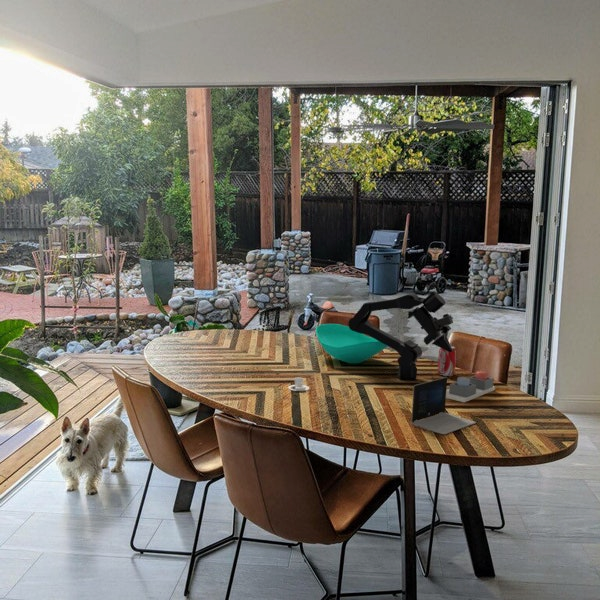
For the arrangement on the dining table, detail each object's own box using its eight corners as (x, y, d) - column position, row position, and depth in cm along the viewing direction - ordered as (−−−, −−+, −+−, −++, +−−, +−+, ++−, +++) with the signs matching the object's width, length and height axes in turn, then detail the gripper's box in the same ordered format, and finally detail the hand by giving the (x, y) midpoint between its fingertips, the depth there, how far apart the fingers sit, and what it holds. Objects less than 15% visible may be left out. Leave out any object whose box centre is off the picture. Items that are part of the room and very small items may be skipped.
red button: (472, 385, 246) (473, 372, 246) (477, 383, 249) (478, 370, 249) (483, 388, 243) (484, 374, 243) (488, 385, 247) (489, 372, 246)
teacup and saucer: (304, 393, 235) (304, 383, 235) (284, 391, 238) (284, 380, 237) (312, 387, 243) (312, 377, 243) (292, 385, 246) (292, 374, 245)
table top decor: (406, 367, 278) (408, 337, 276) (358, 376, 262) (360, 344, 260) (345, 348, 309) (347, 321, 307) (299, 355, 293) (300, 326, 291)
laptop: (443, 436, 196) (446, 394, 194) (410, 425, 205) (413, 385, 203) (476, 424, 208) (479, 385, 206) (443, 414, 217) (446, 376, 215)
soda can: (454, 377, 264) (457, 349, 262) (437, 376, 266) (439, 347, 264) (454, 373, 271) (456, 345, 269) (437, 372, 272) (439, 344, 271)
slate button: (454, 392, 236) (455, 378, 235) (460, 390, 239) (461, 376, 238) (465, 395, 233) (466, 381, 232) (470, 392, 236) (471, 379, 236)
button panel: (439, 396, 237) (440, 383, 236) (470, 384, 255) (471, 372, 254) (464, 402, 230) (465, 388, 230) (494, 390, 248) (495, 377, 247)
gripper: (434, 310, 242) (461, 343, 239) (448, 304, 258) (473, 335, 255) (412, 328, 247) (438, 360, 243) (427, 321, 263) (452, 352, 260)
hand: (451, 351), depth 250 cm, fingers closed
